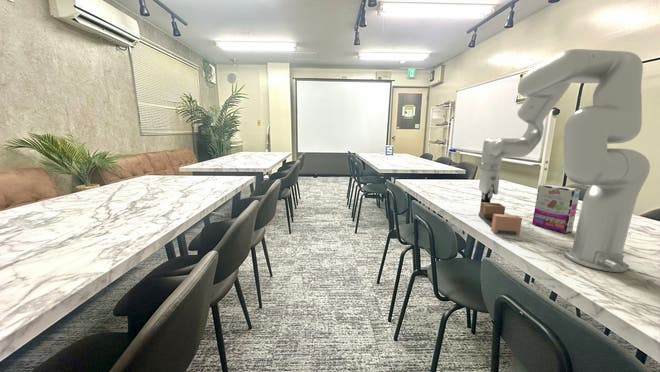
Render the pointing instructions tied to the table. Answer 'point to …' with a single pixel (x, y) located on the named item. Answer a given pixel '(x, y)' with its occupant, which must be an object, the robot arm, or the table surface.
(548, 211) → the candy bar box
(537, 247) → the table surface
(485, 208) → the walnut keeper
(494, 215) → the block
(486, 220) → the metal rail
